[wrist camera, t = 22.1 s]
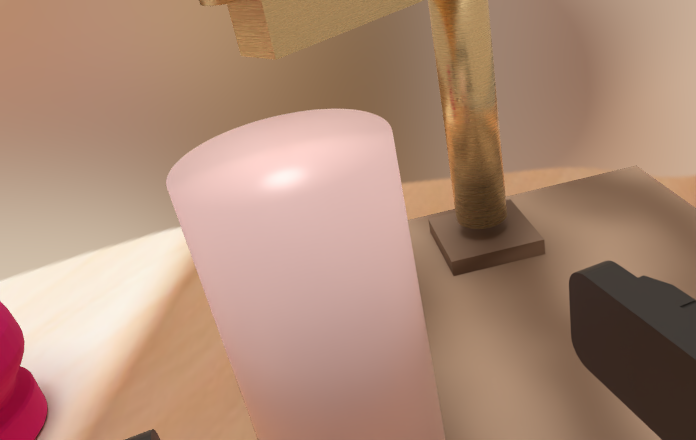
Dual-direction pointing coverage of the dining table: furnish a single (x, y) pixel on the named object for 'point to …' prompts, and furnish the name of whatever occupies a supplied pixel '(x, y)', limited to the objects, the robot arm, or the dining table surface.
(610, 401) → the base
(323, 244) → the cover
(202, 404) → the dining table surface
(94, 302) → the dining table surface
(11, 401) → the pepper mill
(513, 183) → the dining table surface
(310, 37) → the brass crank handle
